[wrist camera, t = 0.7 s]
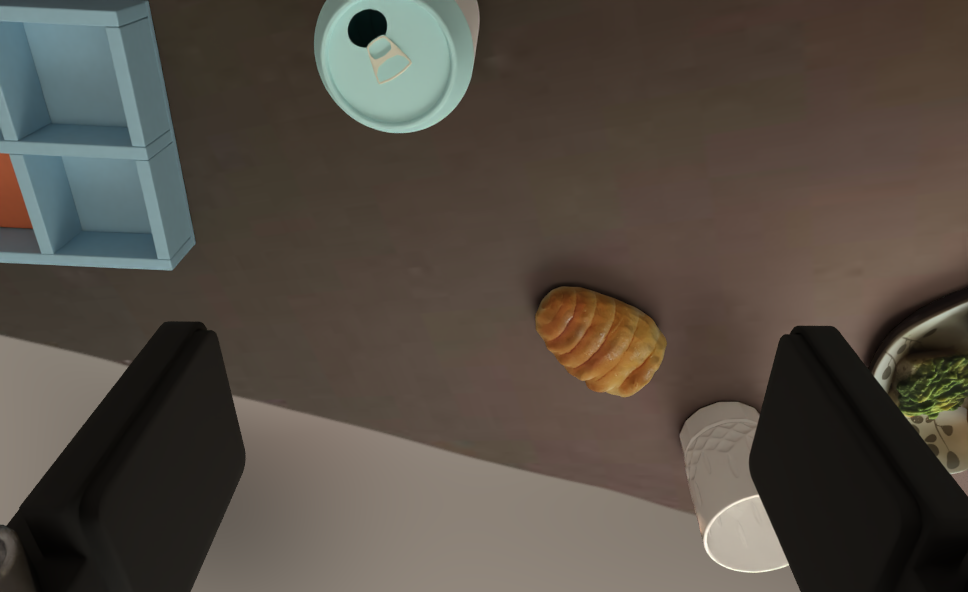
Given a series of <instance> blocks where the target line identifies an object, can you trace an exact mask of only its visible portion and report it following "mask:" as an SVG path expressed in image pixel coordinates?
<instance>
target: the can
mask: <svg viewBox="0 0 968 592" xmlns="http://www.w3.org/2000/svg"><path fill="white" fill-rule="evenodd" d="M479 23H480V16H479V7H478V2H477V0H326V2H325V4H324V5H323V7H322V10H321V12H320V14H319V17H318V20H317V24H316V28H315V35H314V52H315V60H316V64H317V68H318V71H319V74H320V77H321V79H322V82H323V84H324V86H325V88H326V89H327V91H328V93H329V94H330V96H331V97H332V98H333V100H334V101H335V102H336V104H337V105H338V106H339V107H340V108H341V109H342V110H343V111H344V112H346V113H347V114H348V115H349V116H351V117H352V118H353V119H355V120H356V121H358V122H360V123H362V124H364V125H366V126H368V127H370V128H373V129H376V130H380V131H384V132H390V133H408V132H414V131H419V130H422V129H425V128H428V127H430V126H432V125H434V124H436V123H438V122H439V121H441V120H442V119H444V118H445V117H446V116H447V115H448V114H450V113H451V112H452V111H453V110H454V108H455V107H456V106H457V105H458V103H459V102H460V101H461V99H462V97H463V96H464V94H465V92H466V90H467V88H468V85H469V82H470V79H471V75H472V71H473V65H474V58H475V52H476V45H477V39H478V32H479Z"/></svg>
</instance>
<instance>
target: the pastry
mask: <svg viewBox="0 0 968 592" xmlns="http://www.w3.org/2000/svg"><path fill="white" fill-rule="evenodd" d="M535 321H536V330H537V332H538V333H539V334H540V336H541V337H542V338H543V340H544V341H545V344H546V347H547V349H548V350H550V351H551V352H552V353H553V354H554V355H555V357H556V359H557V360H558V361H559V362H560V364H562V365H564V367H565V368H566V370H567V371H568V373H570V374H571V375H573V376H575V377H577V378H578V379H579V380H583V381H584V380H585V382H586V385H587V387H588V388H589V389H591V390H593V391H596V392H605V391H606V392H608V393H610V394H613V395H619V396H621V397H628V396H631V395H633V394H634V393H636V392H638V391H639V390H640V389H641V388H642V387H644V386H645V385H646V384H647V383H648V382H649V381H650V380H651V378H652V377H653V374H654V373H655V371H656V370H658V368H659V366H660V364H661V362H662V360H663V357H664V352H665V348H666V345H667V342H666V339H665V337H664V335H663V334H662V332H661V331H660V330H659V329H658V327H657V326H656V324H655V322H654V321H653V319H651V318H650V317H649V316H648V315H646V314H645V313H643V312H642V311H640V310H639V309H637V308H636V307H633V306H631V305H628V304H626V303H624V302H622V301H619V300H617V299H615V298H612V297H609V296H606V295H603V294H600V293H597V292H595V291H592V290H588V289H585V288H582V287H566V286H562V287H558V288H556V289H553V290H552V291H550V292H549V293H548V294H547V295H546V296H545V297H544V298H543V300H542V301H541V303H540V306H539V308H538V311H537V313H536V315H535Z"/></svg>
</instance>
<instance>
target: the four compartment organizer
mask: <svg viewBox="0 0 968 592" xmlns="http://www.w3.org/2000/svg"><path fill="white" fill-rule="evenodd" d="M195 244H196V242H195V237H194V232H193V227H192V222H191V217H190V211H189V206H188V201H187V196H186V191H185V186H184V181H183V176H182V170H181V165H180V160H179V155H178V150H177V145H176V140H175V135H174V129H173V124H172V119H171V114H170V109H169V104H168V99H167V94H166V88H165V83H164V78H163V73H162V68H161V63H160V58H159V53H158V47H157V42H156V37H155V32H154V27H153V22H152V17H151V12H150V6H149V1H148V0H0V262H2V263H23V264H45V265H66V266H88V267H109V268H131V269H152V270H173V269H174V268H175V267H176V265H177V264H178V263H179V262H180V261H181V260H182V258H183V257H184V256H185V255H186V254H187V253H188V251H189V250H190V249H191V248H192V247H193V246H194V245H195Z"/></svg>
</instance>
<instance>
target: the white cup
mask: <svg viewBox="0 0 968 592" xmlns="http://www.w3.org/2000/svg"><path fill="white" fill-rule="evenodd" d="M759 416H760V414H759V413H758V412H757V410H756V409H755V408H753V407H750V406H748V405H745V404H742V403H740V402H717V403H714V404H712V405H709V406H706V407H703V408H701V409H699V410H698V411H697V412H695V413H694V414H693V415H692V416H691V417H689V418H688V419H687V420H686V421H685V424H684V426H683V428H682V430H681V433H680V435H679V436H680V442H681V448H682V452H683V456H684V460H685V470H686V474H687V479H688V484H689V488H690V492H691V496H692V500H693V504H694V508H695V512H696V516H697V519H698V523H699V527H700V531H701V535H702V539H703V543H704V547H705V549H706V552H707V553H708V555H709V556H710V557H711V558H712V559H713V560H714V561H715V562H716V563H718V564H719V565H721V566H723V567H725V568H728V569H731V570H735V571H740V572H766V571H771V570H776V569H780V568H783V567H785V566H788V565H789V563H788V561H787V559H786V556H785V554H784V552H783V550H782V547H781V545H780V543H779V540H778V538H777V536H776V533H775V531H774V529H773V527H772V524H771V522H770V520H769V517H768V515H767V513H766V510H765V508H764V506H763V504H762V501H761V499H760V497H759V494H758V492H757V490H756V487H755V485H754V483H753V481H752V478H751V475H750V471H749V455H750V451H751V447H752V443H753V439H754V435H755V432H756V428H757V424H758V420H759Z"/></svg>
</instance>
